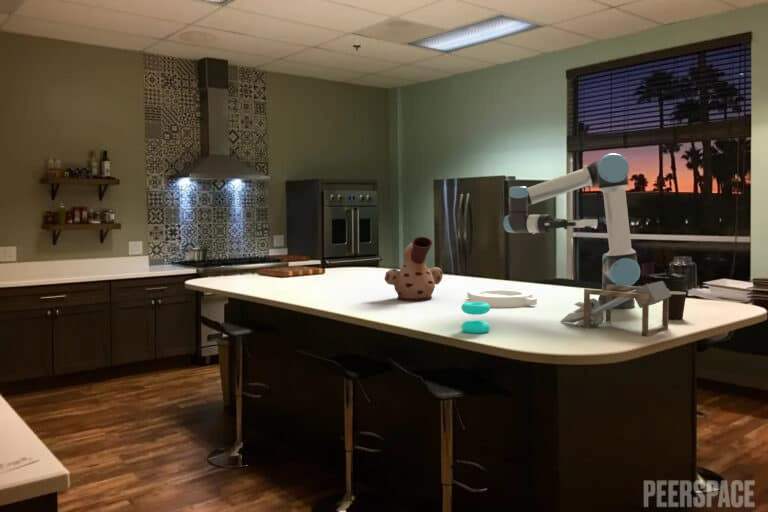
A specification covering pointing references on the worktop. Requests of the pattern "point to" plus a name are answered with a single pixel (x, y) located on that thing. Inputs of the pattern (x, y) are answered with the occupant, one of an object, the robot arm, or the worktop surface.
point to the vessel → (415, 273)
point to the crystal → (579, 314)
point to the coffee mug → (676, 305)
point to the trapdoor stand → (610, 293)
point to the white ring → (502, 297)
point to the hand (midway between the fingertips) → (591, 223)
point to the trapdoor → (654, 290)
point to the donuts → (475, 325)
